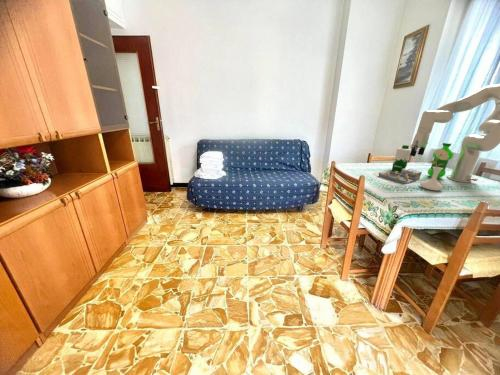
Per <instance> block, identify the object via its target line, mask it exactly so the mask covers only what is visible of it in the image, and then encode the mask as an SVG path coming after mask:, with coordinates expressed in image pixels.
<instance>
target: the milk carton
mask: <svg viewBox="0 0 500 375" xmlns="http://www.w3.org/2000/svg"><path fill="white" fill-rule="evenodd" d="M396 149H397V150H396V152H395V155H394V159H393V163H392V167H391V172H395V171H398V172H397V173H401V171H402V169H404V168H407V165H408V163H409V160H410V157H411V156H410V153H411V149H412V148H410V146H409V145H408V144H407V145H404V144H402V147H398V148H396Z"/></svg>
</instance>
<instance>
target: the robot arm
mask: <svg viewBox="0 0 500 375" xmlns="http://www.w3.org/2000/svg"><path fill="white" fill-rule="evenodd" d="M489 101H494V103H495V107H494V110H493V111H492V112H491V114H489V116H487V118H486V119H484V120H483V122H481V123H480V125H479V127H478V128H477V131H478V132H479V133H480V134H477V133H474V134H468V135H467V136H465V137H464V138H463V139H462V141H461V147H460V151H459V154H458V156H457V158H456V161H455V164H454V166H453V168H452V171H451V174H448V175H447V176H446V178H447V179H449V180H451V181H455V182H460V183H471V182H473V181H474V182H477V181H478V178H477V177H473V175H472V172H473V170H474V169H475V166H476V163H477V161H478V159H479V156H480V152H490V151H492V150H494V149H495V148H497V146H499V144H500V83H499V84H490V85H487V86H484V87H482V88H479V89H478V90H477V91H474V92H472V93H471V94H469V95H467V96H464V97H463V98H460V99H457V100H455V101H451V102H449V103H447V104H445V105H442V106H440V107H438V108H436V109H434V110H424V111H423V112H422V115H421V117H420V120H419V124H418V127H417V129H416V133H415V134H414V135H415V136H414V138H413V140H412V143H411V148H410V149H411V153H410V156H409V157H416V156H417V155H419V156H424V153H425V150H426V148H427V145H428V144H429V140H430V139H429V138H430V134H431V133H432V130H433V127H434V125H435V123H438V124H446V123H449V122H450V121H452V120H453V118H454V114H456V113H463V112H467V111H471V110H473V109H474V108H477V107H478V106H481V105H483V104H485V103H487V102H489Z"/></svg>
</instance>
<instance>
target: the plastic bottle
mask: <svg viewBox="0 0 500 375" xmlns="http://www.w3.org/2000/svg"><path fill="white" fill-rule="evenodd" d="M451 145H452V143H451V142H443V143H442V147H441V148H440V149H442V150H443V149H444V150H445V151H447V153H448V155H449V157H448V158H447V160H446V159H445V160H442V159H440V158H438V157H437V156H436V155H435V151H433V153H432V158H433V160H434V161H435V162H436V163H437V167H440V168H443V169H442V170H441V171H440V172H439V174H438V176H437V179H440V178H442V177H444V176H445V175H446V173H447V172H446V168H447V165H448V163H449V161H450V160H451V159H452V158H453V157H454V152H453V151H452V149H450V147H452V146H451ZM437 158H438V159H437ZM436 160H437V161H436ZM439 164H442V165H439ZM433 167H436V164H433V163H432V164H431V166H430V168H429V169H427V175H429V177H430V178H432V176H433V172H434V170H433Z"/></svg>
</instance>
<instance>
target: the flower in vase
mask: <svg viewBox="0 0 500 375" xmlns="http://www.w3.org/2000/svg"><path fill="white" fill-rule="evenodd" d="M434 152H435V155H436V156H437V157H438V158H440V159H442V160H445V159H446V160H447V158H448V157H449V155H448V153H447V151H445V150H444V149H443V150H442V149H441V148H436V149H435V150H434ZM438 158H437V159H438ZM436 161H437V160H436ZM430 163H433V164H436V167H433V170H434V172H433V176H432V177H430V178H429V179H427V180H423V181H422V182H420V183H419V186H420V187H421V188H423V189H426V190H430V191H442V190H443V189H444V187H443V185H442V184H441V183H440V182H439V181H438V178H437V176H438V174H439V172H440V171H441V170H442V169H443V168H440V167H437V163H436V162H435V161H434V159H433V160H430ZM439 165H442V164H439Z"/></svg>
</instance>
